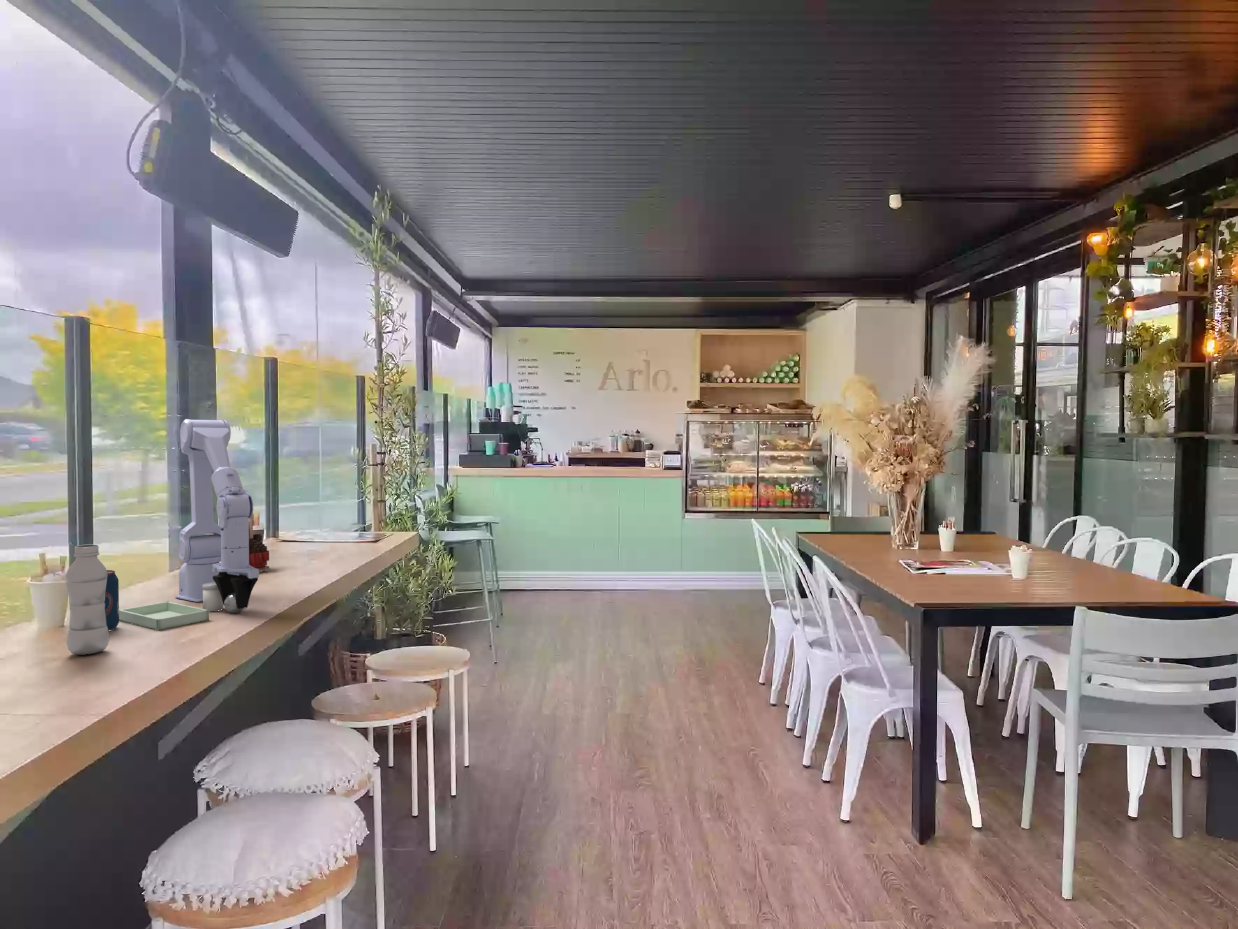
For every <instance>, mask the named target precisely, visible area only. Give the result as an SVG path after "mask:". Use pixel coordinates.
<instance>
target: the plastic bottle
mask: <svg viewBox="0 0 1238 929" xmlns="http://www.w3.org/2000/svg"><path fill="white" fill-rule="evenodd" d="M99 549H100V548H99V544H81V545H80V544H79V545H75V546H74V553H73V557H74V558H75V560H74V561H73V562H72V563H71V564H70V566H69V568H68V569H67V571H66V574H65V583H66V588H67V593H68V598H69V599H68V603H69V604H68V605H70V606H69V623H68V624H69V625H68V632H67V636H66V646H67V650H68V652H70V653H71V654H73V655H82V656H83V655H85V656H87V655H86V654H88V655H93V654H96V653H100V652H102V651H105V650H106V649H107V648H108V646H109V641H110V631H109V632H108V628H107V626H106V616H105V603H104V601H105V590H106V583H107V574H108V573H107V570H108V569H107V567H106V566H105V564H103V562H101V561H100V559H99V557H98V556H100V552H99Z"/></svg>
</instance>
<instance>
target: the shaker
mask: <svg viewBox="0 0 1238 929" xmlns="http://www.w3.org/2000/svg"><path fill="white" fill-rule="evenodd" d="M202 609H206V610H209V611H215V612H219V611H218V610H221V609H223V610H224V605H223V601H222V598H221V594H220V591H219V589H218V586H217V585H216V583H215V582H213V583H205V584H203V601H202ZM221 611H222V610H221Z"/></svg>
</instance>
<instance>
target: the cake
mask: <svg viewBox="0 0 1238 929" xmlns="http://www.w3.org/2000/svg"><path fill="white" fill-rule="evenodd" d="M253 514H254V513H253ZM253 514H252V516H251V518H248V519H249V565H250V566H252V567H254V568H256V569H259V572H260V573H262V571H263V572H267V571H268V570H270V566H269V565H268V561H270V551H269V550H268V547H267V545H266V544H265V543H263V541H262V540H263V536H262V534H261V533H254V530H253V529H254V526H255V520H254V519H253V518H254V517H253V516H254V515H253Z"/></svg>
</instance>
